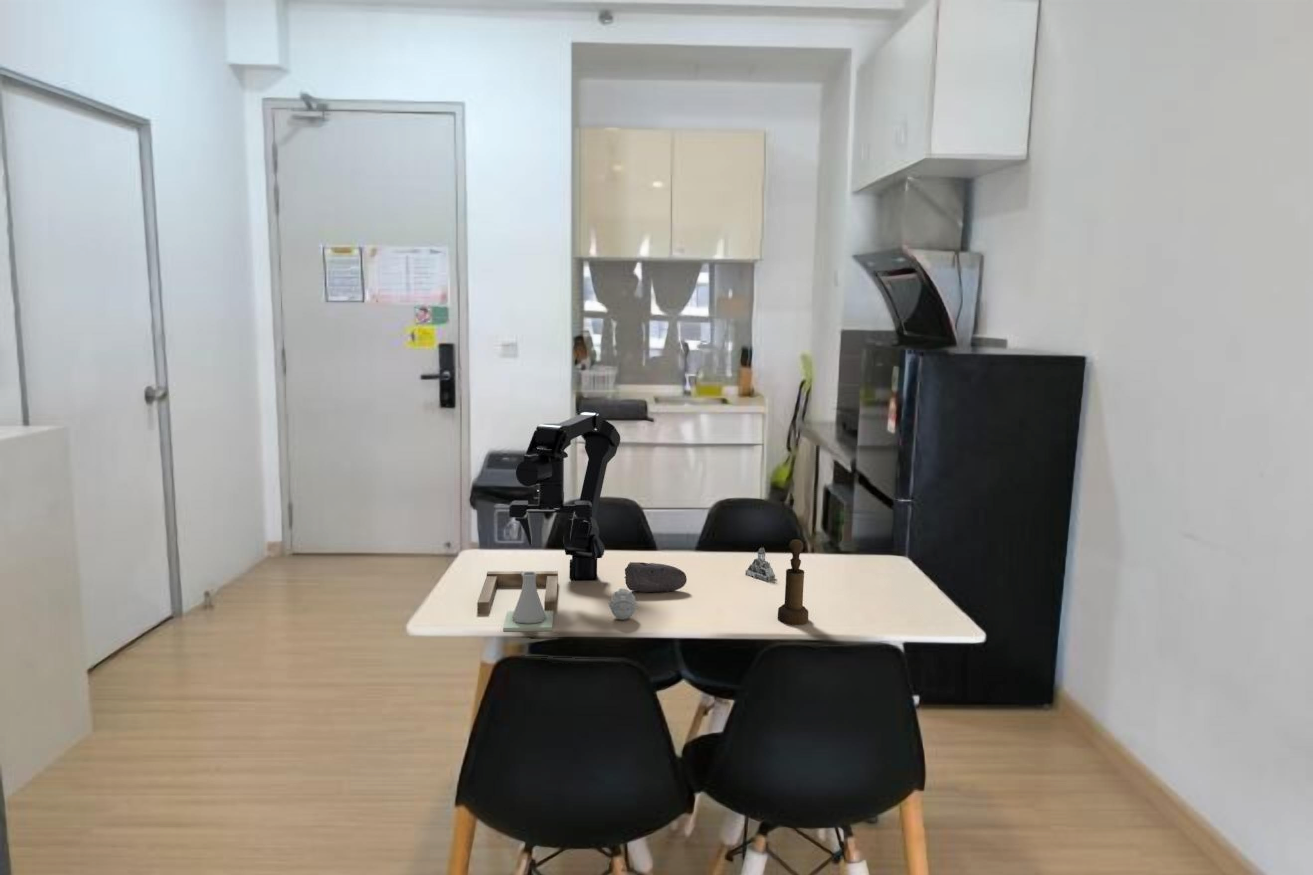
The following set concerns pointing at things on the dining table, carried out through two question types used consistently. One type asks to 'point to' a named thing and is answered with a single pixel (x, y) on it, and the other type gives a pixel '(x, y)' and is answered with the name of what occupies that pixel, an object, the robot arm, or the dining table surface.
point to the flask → (529, 601)
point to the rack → (516, 579)
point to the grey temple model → (761, 567)
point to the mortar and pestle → (794, 590)
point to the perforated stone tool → (653, 577)
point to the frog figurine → (622, 604)
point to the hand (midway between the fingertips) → (550, 545)
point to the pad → (539, 626)
